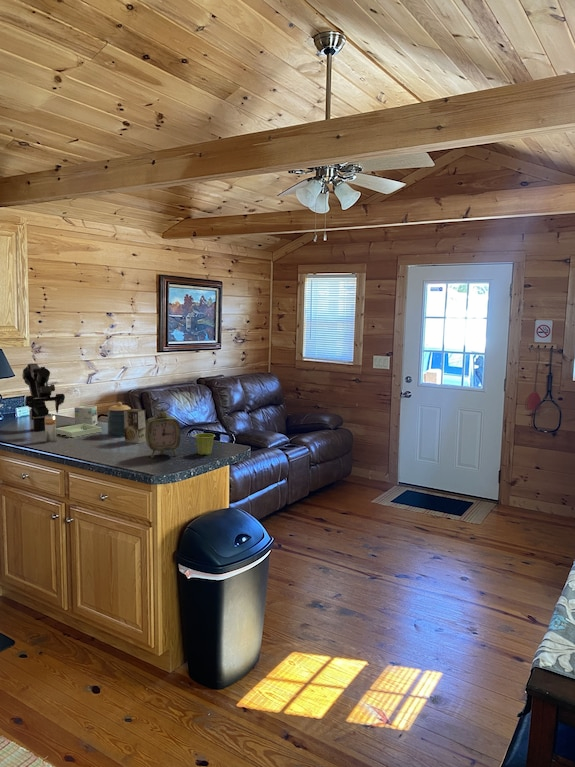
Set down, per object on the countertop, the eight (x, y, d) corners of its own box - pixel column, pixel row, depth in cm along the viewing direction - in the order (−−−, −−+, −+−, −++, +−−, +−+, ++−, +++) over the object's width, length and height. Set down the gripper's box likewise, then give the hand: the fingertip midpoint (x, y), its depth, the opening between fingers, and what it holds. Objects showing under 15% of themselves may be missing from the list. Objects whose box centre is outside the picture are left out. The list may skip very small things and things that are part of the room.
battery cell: (43, 441, 289) (42, 414, 287) (53, 439, 293) (51, 413, 291) (49, 443, 286) (48, 415, 284) (58, 441, 290) (57, 414, 288)
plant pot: (205, 450, 276) (205, 432, 275) (219, 453, 270) (219, 435, 269) (190, 453, 269) (190, 435, 268) (204, 457, 263) (204, 438, 262)
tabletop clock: (148, 459, 258) (147, 404, 255) (145, 454, 266) (144, 401, 263) (180, 456, 264) (180, 402, 261) (176, 451, 272) (175, 399, 269)
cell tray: (54, 433, 307) (54, 428, 307) (84, 428, 322) (84, 423, 321) (71, 437, 298) (71, 432, 297) (101, 432, 312) (101, 427, 312)
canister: (102, 435, 304) (101, 402, 301) (118, 431, 316) (117, 399, 313) (122, 438, 299) (121, 404, 297) (137, 433, 311) (137, 401, 309)
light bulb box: (97, 424, 333) (97, 405, 332) (92, 426, 327) (92, 407, 325) (80, 423, 334) (79, 405, 333) (74, 426, 328) (74, 407, 326)
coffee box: (147, 441, 293) (146, 409, 291) (138, 443, 287) (138, 411, 285) (132, 439, 297) (132, 408, 295) (124, 441, 291) (123, 410, 289)
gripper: (25, 380, 291) (30, 406, 284) (63, 378, 301) (69, 403, 294) (22, 392, 299) (27, 418, 292) (60, 390, 309) (65, 415, 302)
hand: (47, 413), depth 295 cm, fingers open, 9 cm apart
